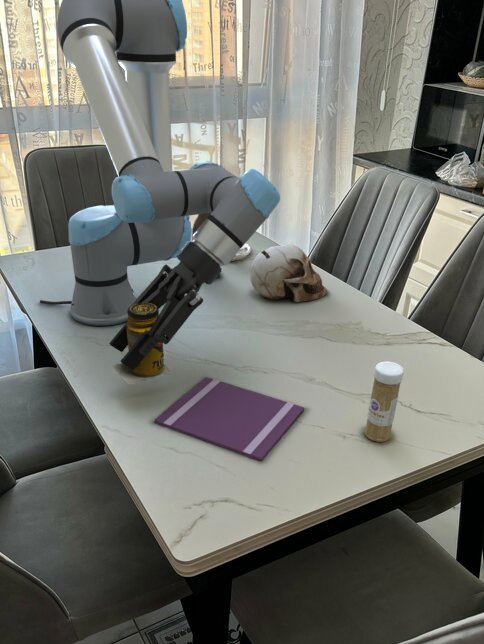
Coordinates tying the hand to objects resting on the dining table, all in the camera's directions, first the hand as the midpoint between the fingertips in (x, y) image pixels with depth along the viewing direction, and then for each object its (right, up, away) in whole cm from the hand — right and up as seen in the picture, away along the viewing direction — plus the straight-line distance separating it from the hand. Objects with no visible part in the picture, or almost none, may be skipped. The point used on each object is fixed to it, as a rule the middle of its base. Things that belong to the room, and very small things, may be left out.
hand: (121, 356), depth 104 cm
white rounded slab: (+15, +36, +73) cm, 82 cm away
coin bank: (+32, +19, +49) cm, 62 cm away
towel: (+19, -10, +2) cm, 22 cm away
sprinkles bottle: (+44, -14, -1) cm, 46 cm away
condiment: (+3, -2, +4) cm, 5 cm away
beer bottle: (+11, +26, +57) cm, 64 cm away
